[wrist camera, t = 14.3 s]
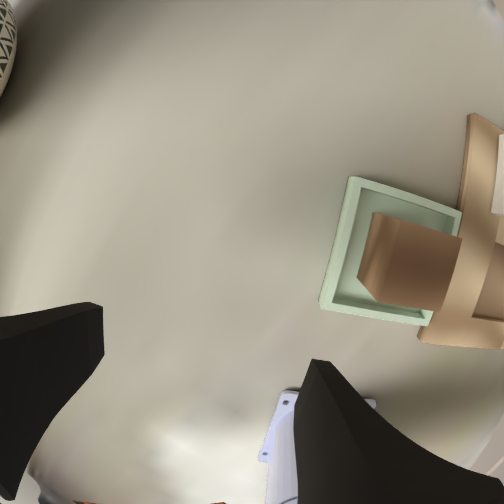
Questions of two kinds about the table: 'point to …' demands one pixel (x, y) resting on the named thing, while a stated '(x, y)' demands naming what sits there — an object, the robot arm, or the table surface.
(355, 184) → the tray
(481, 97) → the table surface
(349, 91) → the table surface
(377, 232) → the block
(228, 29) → the table surface
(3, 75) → the planter
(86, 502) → the chessboard
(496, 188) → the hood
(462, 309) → the puzzle board
